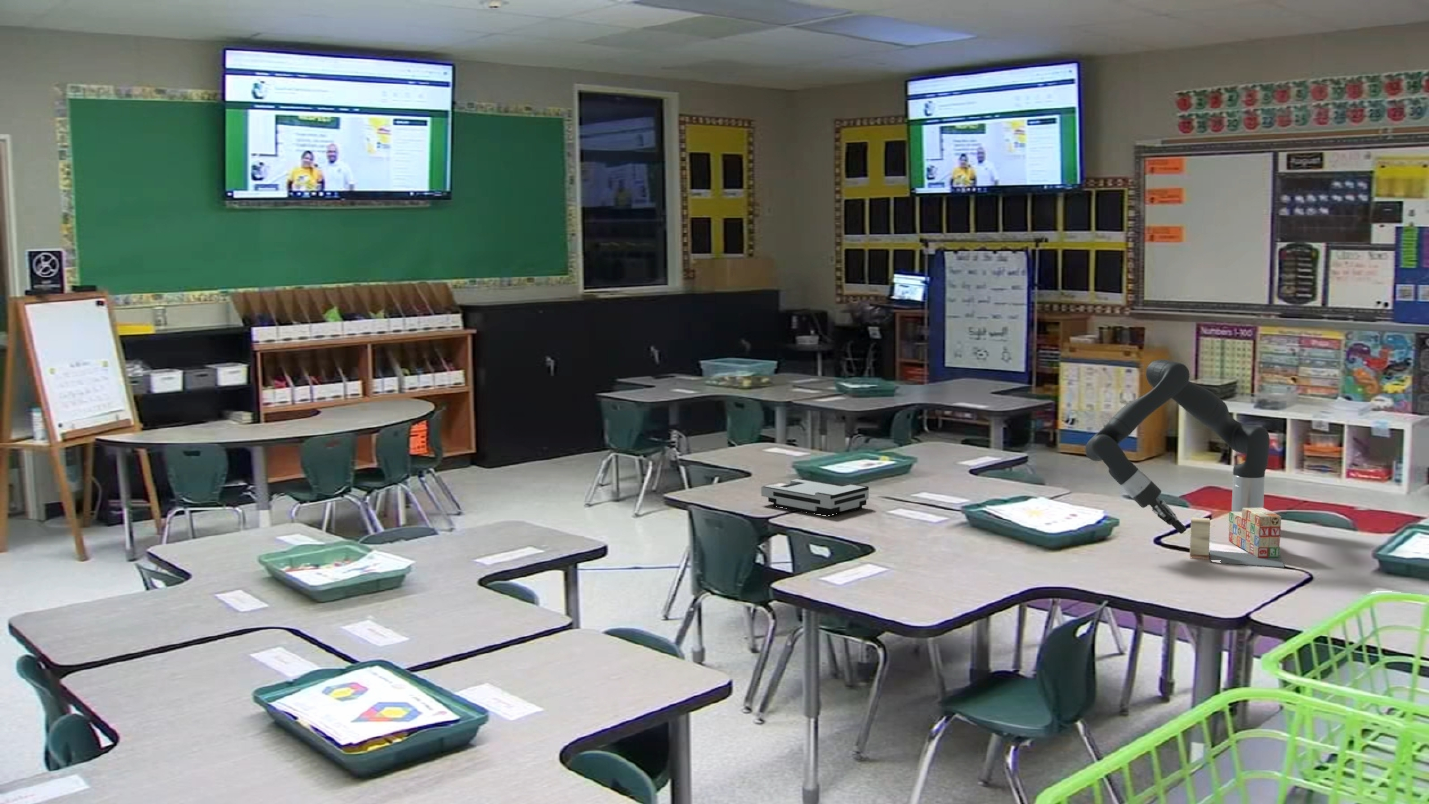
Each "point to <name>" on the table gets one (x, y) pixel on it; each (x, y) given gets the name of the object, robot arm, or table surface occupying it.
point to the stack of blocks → (1256, 531)
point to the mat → (1246, 559)
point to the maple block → (1200, 538)
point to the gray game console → (816, 496)
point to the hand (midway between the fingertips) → (1183, 531)
